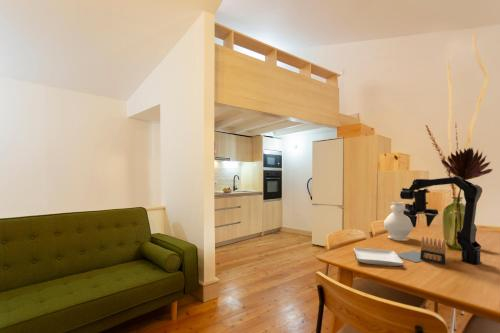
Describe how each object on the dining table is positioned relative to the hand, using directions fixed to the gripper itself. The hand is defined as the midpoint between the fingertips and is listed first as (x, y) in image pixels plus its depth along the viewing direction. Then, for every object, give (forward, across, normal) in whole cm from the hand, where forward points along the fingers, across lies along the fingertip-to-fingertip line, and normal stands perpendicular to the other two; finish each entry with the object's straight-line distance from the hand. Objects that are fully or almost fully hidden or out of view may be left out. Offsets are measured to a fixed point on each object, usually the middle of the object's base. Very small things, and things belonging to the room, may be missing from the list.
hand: (421, 226), depth 156 cm
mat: (+14, +12, +8) cm, 20 cm away
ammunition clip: (+14, +10, +17) cm, 24 cm away
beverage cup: (+14, -34, -1) cm, 37 cm away
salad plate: (+14, +36, +9) cm, 40 cm away
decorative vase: (+14, -8, -28) cm, 32 cm away
